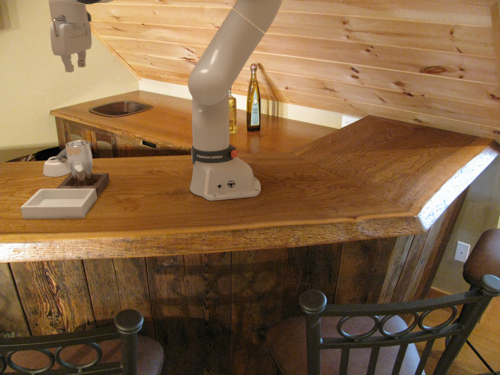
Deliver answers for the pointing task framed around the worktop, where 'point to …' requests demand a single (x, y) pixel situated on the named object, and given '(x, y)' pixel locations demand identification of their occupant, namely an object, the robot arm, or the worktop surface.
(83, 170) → the beer glass
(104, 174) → the walnut collar
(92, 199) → the cream white tray
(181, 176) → the worktop surface
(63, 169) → the inkwell
